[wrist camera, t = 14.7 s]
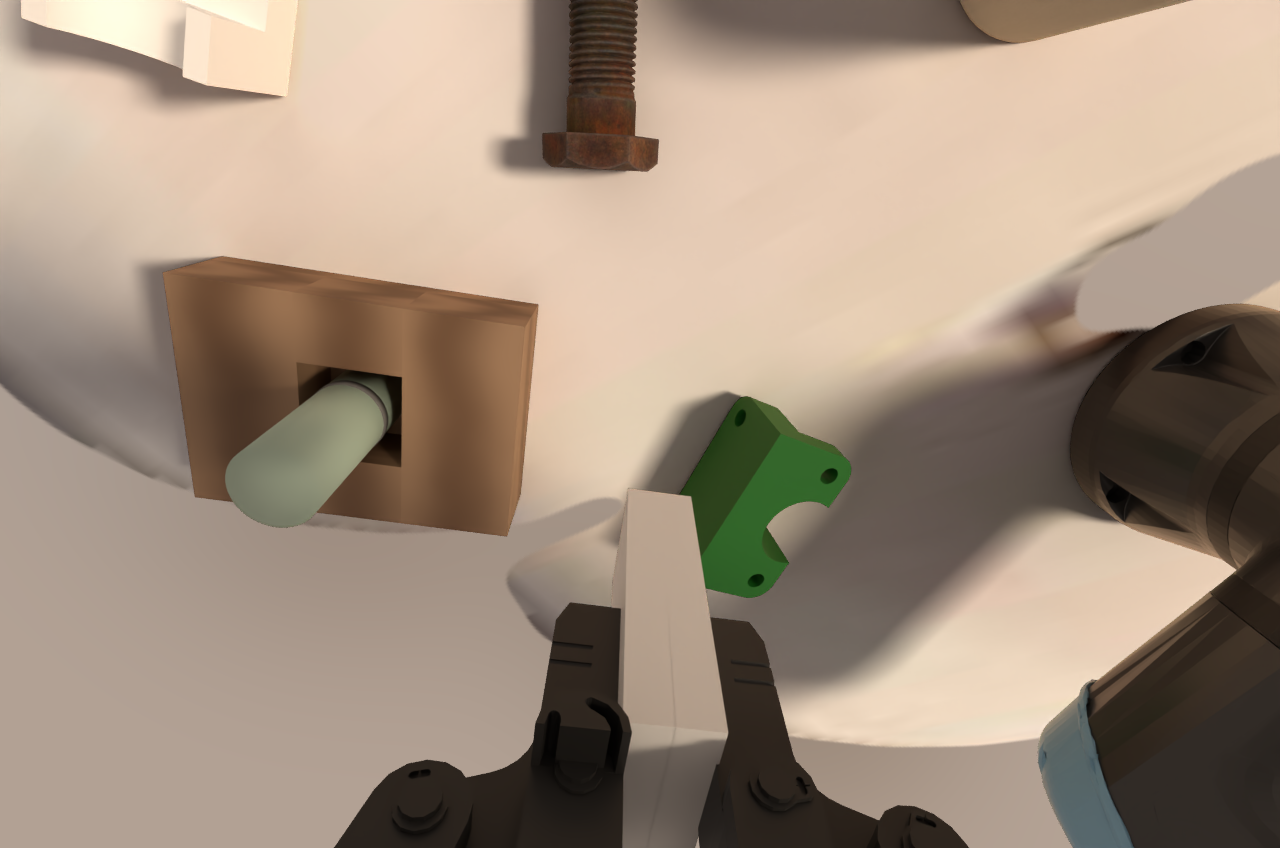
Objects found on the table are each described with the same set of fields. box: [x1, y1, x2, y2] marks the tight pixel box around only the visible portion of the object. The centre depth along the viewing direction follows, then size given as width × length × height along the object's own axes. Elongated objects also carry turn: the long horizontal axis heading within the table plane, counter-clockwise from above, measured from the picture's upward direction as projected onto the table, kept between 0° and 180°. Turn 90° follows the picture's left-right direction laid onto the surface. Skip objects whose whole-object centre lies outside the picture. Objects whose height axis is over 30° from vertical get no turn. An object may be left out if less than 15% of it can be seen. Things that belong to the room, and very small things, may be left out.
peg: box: [225, 369, 402, 528], centre depth 33 cm, size 4×4×12 cm
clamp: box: [680, 396, 851, 598], centre depth 40 cm, size 12×6×9 cm, turn 146°
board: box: [163, 256, 538, 536], centre depth 37 cm, size 18×13×5 cm
